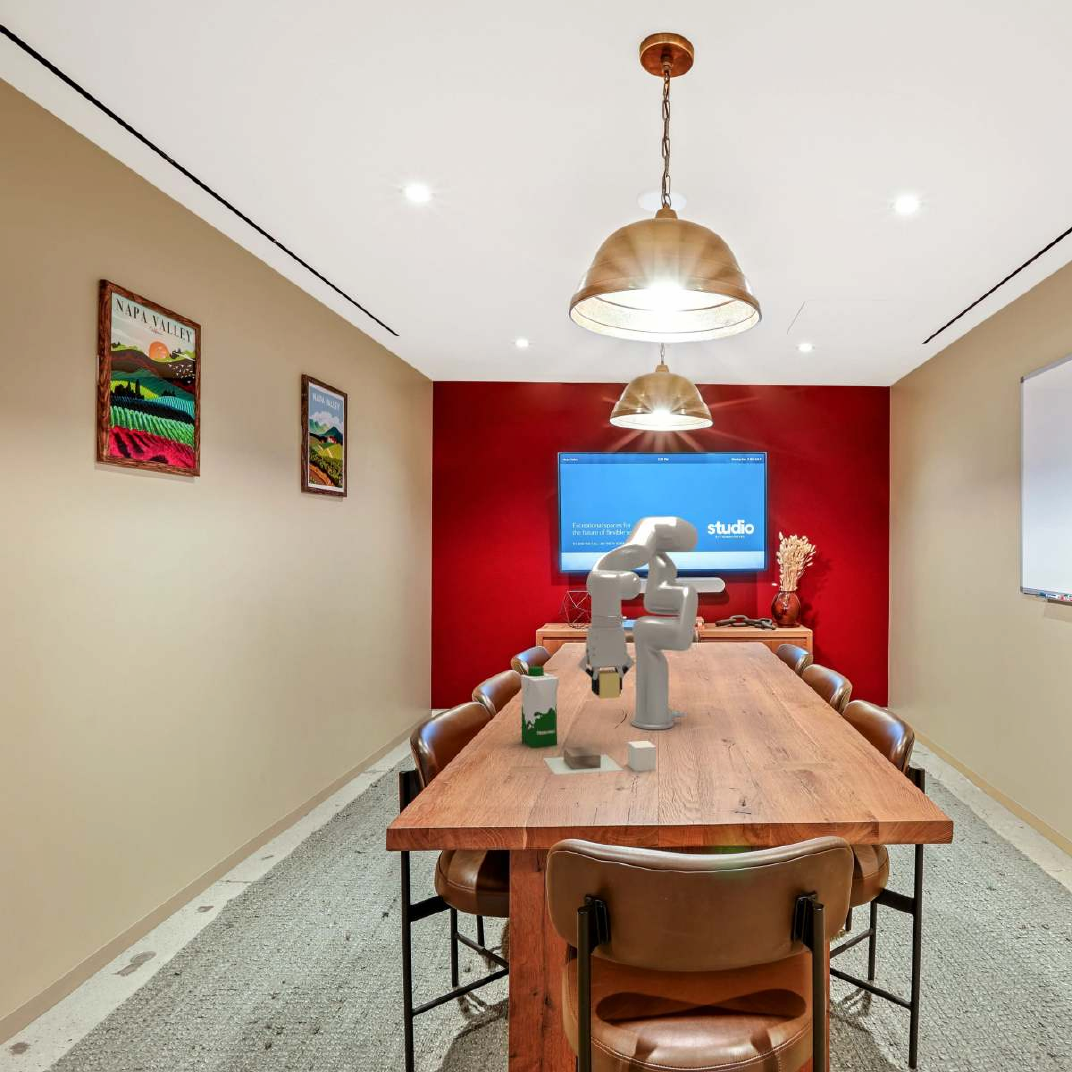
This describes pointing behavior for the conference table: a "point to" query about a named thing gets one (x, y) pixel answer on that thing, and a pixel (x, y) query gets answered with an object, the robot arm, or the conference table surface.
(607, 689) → the mustard brick
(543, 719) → the milk carton
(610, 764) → the plate
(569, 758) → the walnut base brick
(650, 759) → the cream brick
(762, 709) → the conference table surface
